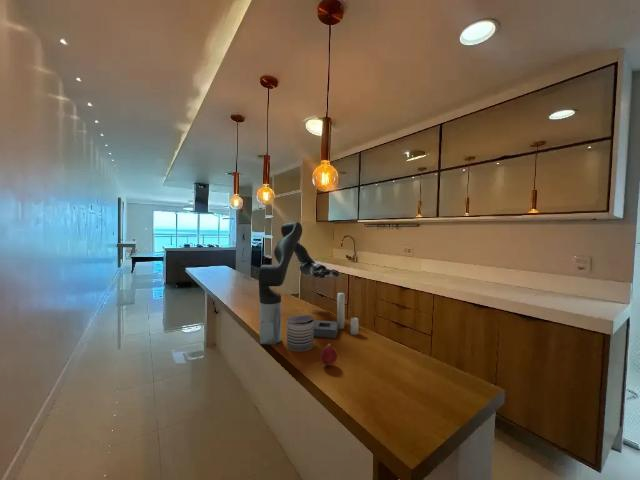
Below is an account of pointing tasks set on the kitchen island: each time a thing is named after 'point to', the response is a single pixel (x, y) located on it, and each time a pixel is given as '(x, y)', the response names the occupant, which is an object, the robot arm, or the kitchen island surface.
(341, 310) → the long pin
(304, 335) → the can
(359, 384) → the kitchen island surface
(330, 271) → the robot arm
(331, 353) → the onion
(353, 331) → the short pin
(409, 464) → the kitchen island surface
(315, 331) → the hole plate
